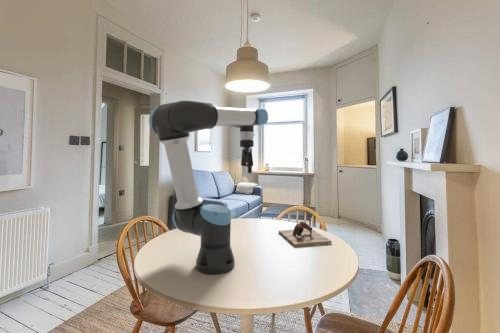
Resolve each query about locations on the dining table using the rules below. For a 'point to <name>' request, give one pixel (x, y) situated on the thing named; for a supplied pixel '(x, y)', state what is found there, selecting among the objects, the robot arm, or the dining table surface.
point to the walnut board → (304, 238)
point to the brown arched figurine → (301, 228)
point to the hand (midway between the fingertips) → (246, 178)
